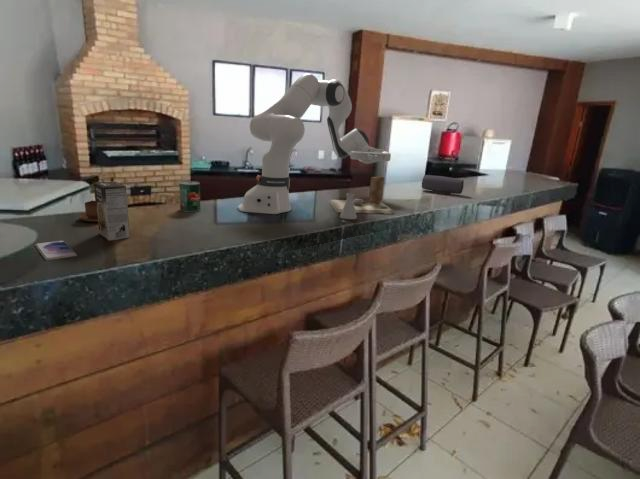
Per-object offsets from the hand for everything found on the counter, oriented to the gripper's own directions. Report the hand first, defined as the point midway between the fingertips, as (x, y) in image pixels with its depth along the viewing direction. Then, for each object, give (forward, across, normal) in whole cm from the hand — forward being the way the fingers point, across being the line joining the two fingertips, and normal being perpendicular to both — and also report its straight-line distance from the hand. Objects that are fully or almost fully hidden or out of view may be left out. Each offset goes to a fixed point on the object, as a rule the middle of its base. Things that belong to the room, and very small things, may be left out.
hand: (373, 157), depth 192 cm
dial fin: (+14, -5, +20) cm, 25 cm away
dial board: (+16, -8, +22) cm, 28 cm away
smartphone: (+81, -108, +22) cm, 137 cm away
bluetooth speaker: (-34, +53, +22) cm, 67 cm away
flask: (+35, -18, +22) cm, 45 cm away
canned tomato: (+28, -82, +22) cm, 89 cm away
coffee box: (+66, -98, +22) cm, 120 cm away
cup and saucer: (+47, -110, +22) cm, 121 cm away
